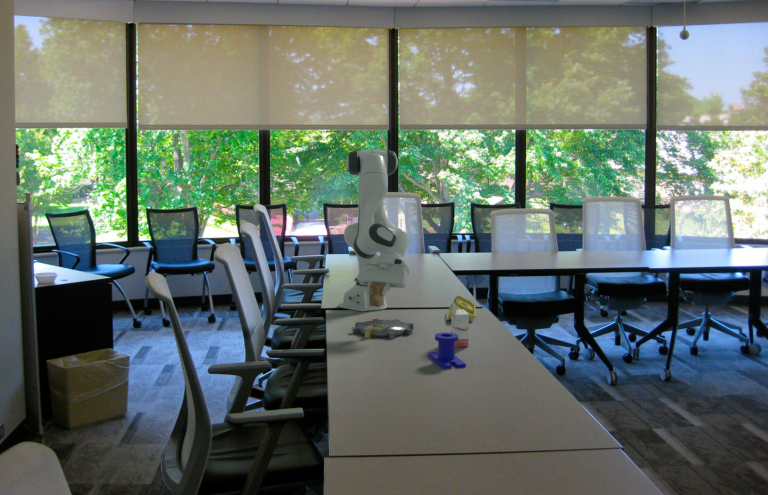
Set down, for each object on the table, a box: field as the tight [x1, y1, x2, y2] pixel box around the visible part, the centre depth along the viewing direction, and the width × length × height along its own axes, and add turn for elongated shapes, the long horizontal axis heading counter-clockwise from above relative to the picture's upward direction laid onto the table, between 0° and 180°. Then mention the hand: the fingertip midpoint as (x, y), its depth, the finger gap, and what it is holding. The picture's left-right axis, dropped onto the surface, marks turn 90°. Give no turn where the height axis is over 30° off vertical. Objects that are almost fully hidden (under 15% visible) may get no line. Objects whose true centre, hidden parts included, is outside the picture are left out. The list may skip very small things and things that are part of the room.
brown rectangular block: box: [369, 283, 385, 307], centre depth 233 cm, size 4×4×8 cm
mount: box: [427, 332, 467, 370], centre depth 200 cm, size 15×8×9 cm, turn 14°
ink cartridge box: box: [450, 301, 470, 348], centre depth 220 cm, size 9×5×15 cm, turn 5°
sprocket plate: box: [351, 318, 414, 340], centre depth 239 cm, size 24×24×3 cm
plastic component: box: [445, 295, 477, 323], centre depth 262 cm, size 20×7×10 cm
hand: (375, 294), depth 232 cm, fingers closed on brown rectangular block, 4 cm apart
